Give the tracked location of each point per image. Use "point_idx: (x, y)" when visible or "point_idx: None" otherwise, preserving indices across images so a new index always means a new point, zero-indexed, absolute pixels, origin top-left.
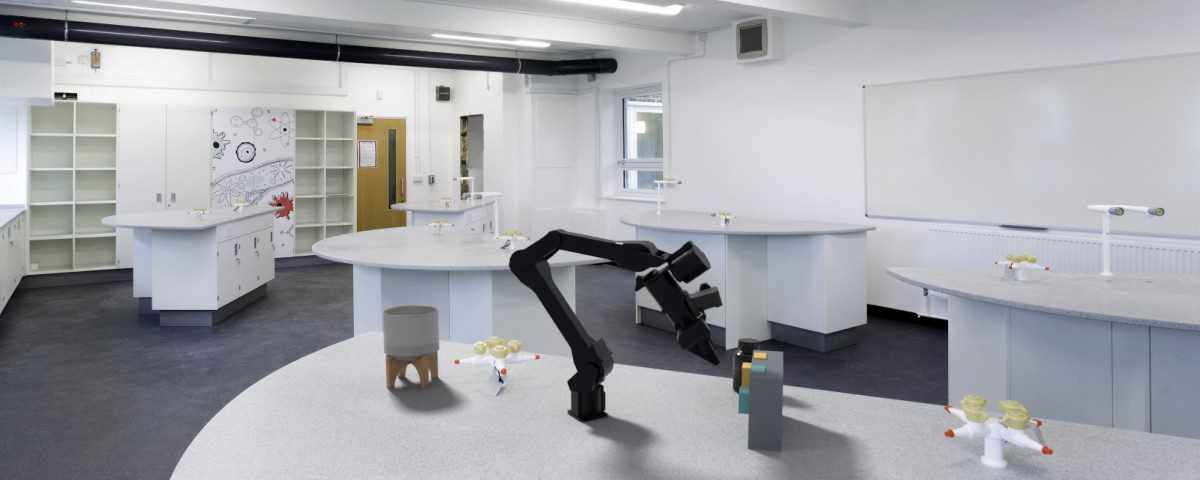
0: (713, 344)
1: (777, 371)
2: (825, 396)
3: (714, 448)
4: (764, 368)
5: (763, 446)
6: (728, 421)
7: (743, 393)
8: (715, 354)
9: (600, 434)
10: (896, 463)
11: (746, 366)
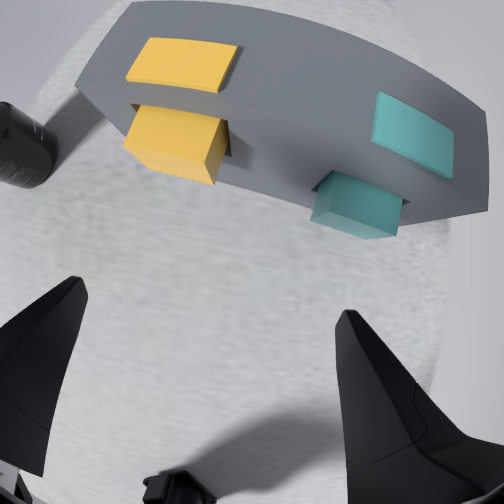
0: (65, 297)
1: (415, 78)
2: (103, 34)
3: (370, 300)
4: (412, 109)
5: None
6: (209, 236)
7: (397, 220)
8: (393, 354)
9: (276, 481)
10: (398, 41)
11: (185, 139)
